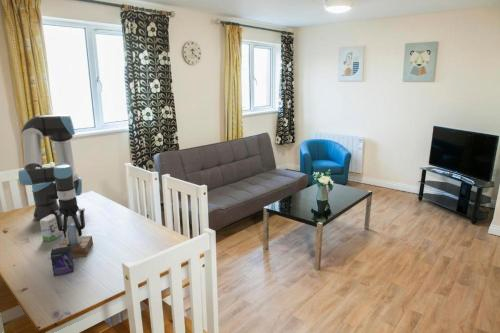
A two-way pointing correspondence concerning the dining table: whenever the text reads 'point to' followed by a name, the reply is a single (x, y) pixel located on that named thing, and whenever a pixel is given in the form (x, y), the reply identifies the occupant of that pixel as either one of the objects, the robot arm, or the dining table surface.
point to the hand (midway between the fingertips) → (74, 242)
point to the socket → (79, 246)
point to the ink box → (49, 228)
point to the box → (62, 260)
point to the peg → (72, 234)
